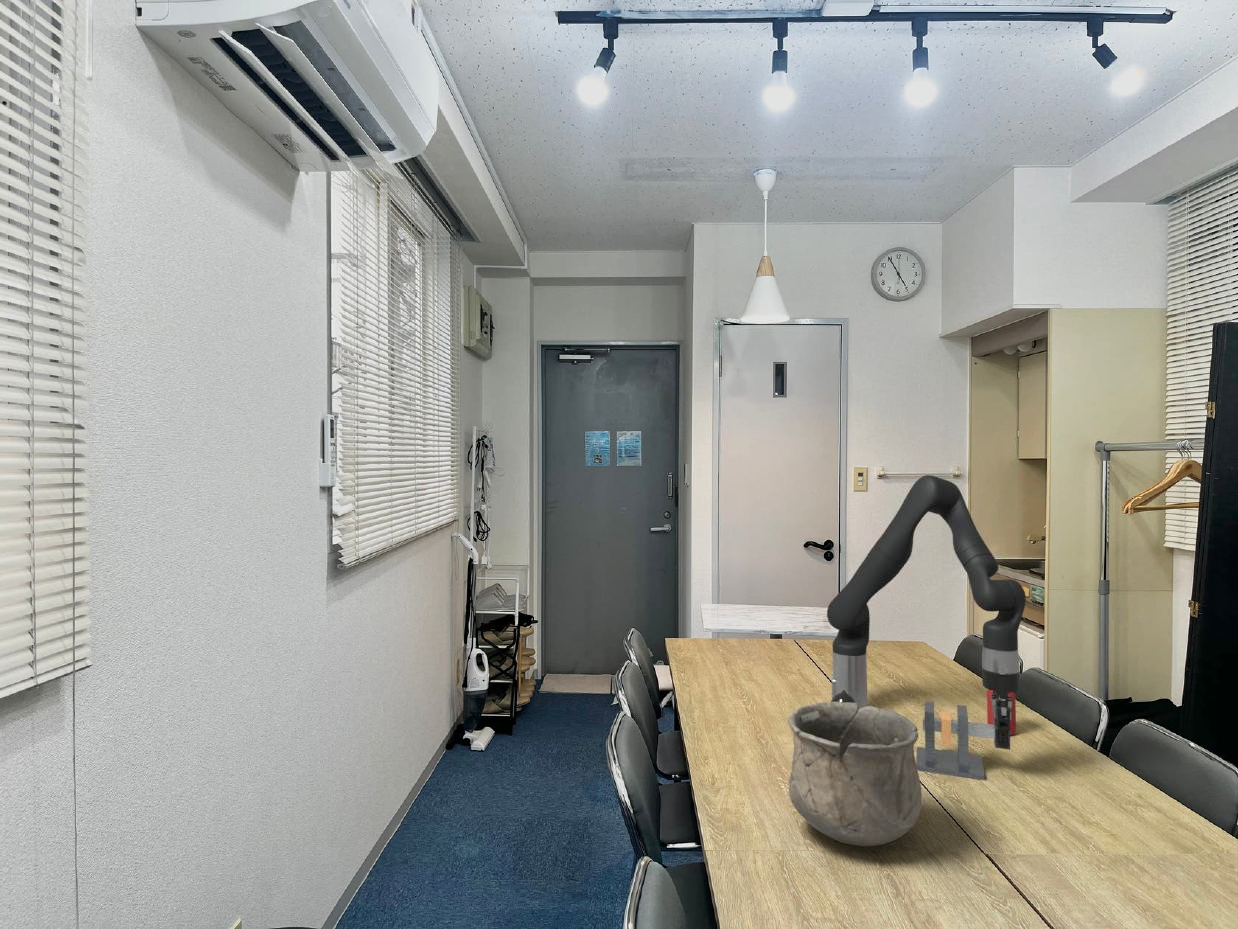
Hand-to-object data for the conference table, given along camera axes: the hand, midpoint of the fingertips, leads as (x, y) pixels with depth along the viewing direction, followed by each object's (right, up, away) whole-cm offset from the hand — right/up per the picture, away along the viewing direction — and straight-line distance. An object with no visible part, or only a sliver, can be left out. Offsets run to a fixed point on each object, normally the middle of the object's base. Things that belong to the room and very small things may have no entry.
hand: (1002, 742), depth 159 cm
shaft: (-7, -1, +3) cm, 8 cm away
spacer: (-10, -2, +5) cm, 12 cm away
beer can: (+13, -7, +25) cm, 29 cm away
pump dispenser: (-33, -7, +10) cm, 35 cm away
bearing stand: (-10, -7, +4) cm, 13 cm away
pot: (-42, -7, -26) cm, 50 cm away
